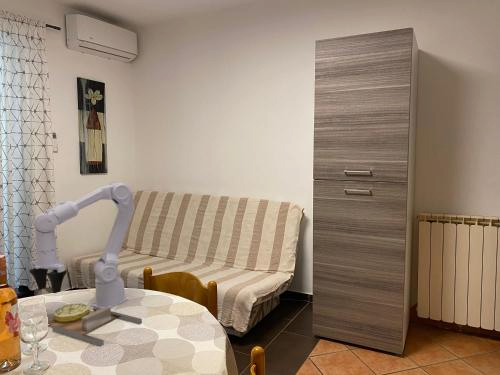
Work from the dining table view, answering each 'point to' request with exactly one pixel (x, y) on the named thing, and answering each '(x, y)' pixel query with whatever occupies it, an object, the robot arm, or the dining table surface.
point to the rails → (89, 338)
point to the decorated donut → (71, 313)
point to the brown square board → (87, 321)
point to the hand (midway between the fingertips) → (49, 290)
